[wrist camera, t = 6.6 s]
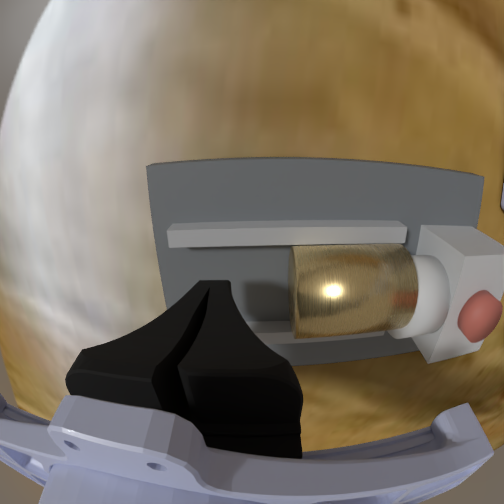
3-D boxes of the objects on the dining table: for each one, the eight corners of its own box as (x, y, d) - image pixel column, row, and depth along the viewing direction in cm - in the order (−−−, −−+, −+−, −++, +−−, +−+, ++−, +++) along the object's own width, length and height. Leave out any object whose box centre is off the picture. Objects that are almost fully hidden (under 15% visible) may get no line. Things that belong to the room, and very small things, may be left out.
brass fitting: (380, 241, 14) (420, 246, 10) (377, 315, 15) (412, 340, 11) (287, 243, 14) (300, 249, 10) (288, 321, 15) (299, 353, 11)
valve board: (474, 173, 13) (545, 201, 7) (434, 337, 18) (471, 393, 12) (152, 163, 13) (91, 188, 8) (182, 355, 18) (164, 430, 12)
